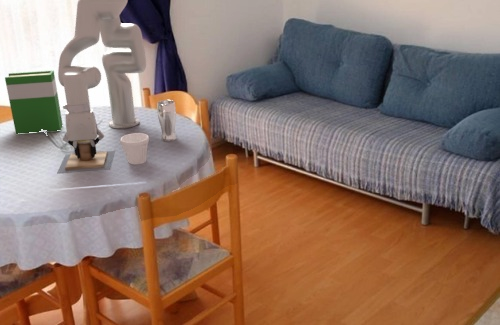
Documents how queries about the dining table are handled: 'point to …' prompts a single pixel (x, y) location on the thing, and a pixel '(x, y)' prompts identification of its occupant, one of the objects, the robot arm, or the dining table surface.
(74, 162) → the oak lid
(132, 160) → the cup
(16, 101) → the hardback book
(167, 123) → the beer glass
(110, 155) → the slate mat
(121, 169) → the dining table surface
